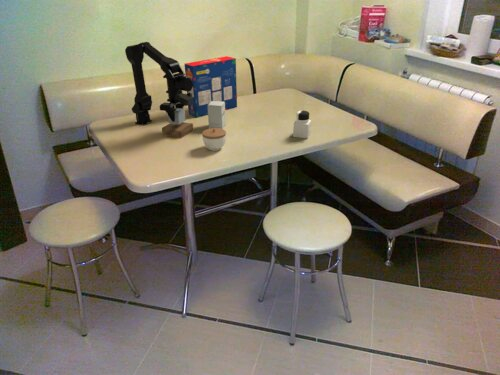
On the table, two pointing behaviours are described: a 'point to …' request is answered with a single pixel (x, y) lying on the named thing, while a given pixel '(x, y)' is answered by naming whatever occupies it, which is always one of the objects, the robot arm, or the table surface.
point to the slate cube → (178, 116)
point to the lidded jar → (214, 138)
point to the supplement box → (216, 114)
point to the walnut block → (177, 129)
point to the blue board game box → (212, 84)
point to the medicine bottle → (302, 125)
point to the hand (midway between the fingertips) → (176, 119)
